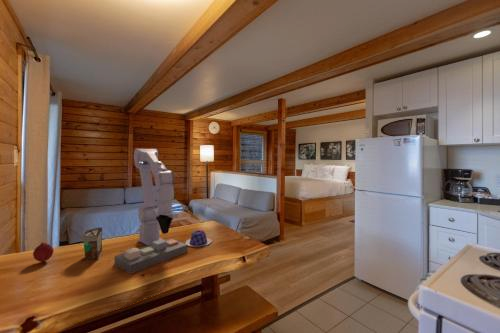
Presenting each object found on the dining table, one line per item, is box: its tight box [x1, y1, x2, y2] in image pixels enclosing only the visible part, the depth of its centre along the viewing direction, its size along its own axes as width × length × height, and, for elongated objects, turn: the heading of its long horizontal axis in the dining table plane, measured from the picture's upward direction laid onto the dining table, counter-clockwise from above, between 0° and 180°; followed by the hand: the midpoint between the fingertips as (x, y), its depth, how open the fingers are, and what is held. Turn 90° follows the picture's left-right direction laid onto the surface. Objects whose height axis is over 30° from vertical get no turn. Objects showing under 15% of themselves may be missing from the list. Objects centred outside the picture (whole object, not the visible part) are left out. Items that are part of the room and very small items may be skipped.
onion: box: [32, 240, 55, 263], centre depth 91 cm, size 6×6×8 cm
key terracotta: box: [167, 238, 179, 247], centre depth 102 cm, size 4×4×3 cm
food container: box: [80, 226, 103, 261], centre depth 96 cm, size 12×6×10 cm, turn 23°
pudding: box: [184, 230, 212, 248], centre depth 112 cm, size 12×12×5 cm
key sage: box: [140, 247, 154, 255], centre depth 94 cm, size 4×4×3 cm
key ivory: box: [123, 247, 141, 261], centre depth 89 cm, size 4×4×3 cm
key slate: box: [152, 238, 167, 251], centre depth 98 cm, size 4×4×3 cm
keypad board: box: [114, 238, 189, 274], centre depth 96 cm, size 12×24×3 cm, turn 142°
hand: (165, 233), depth 100 cm, fingers closed
